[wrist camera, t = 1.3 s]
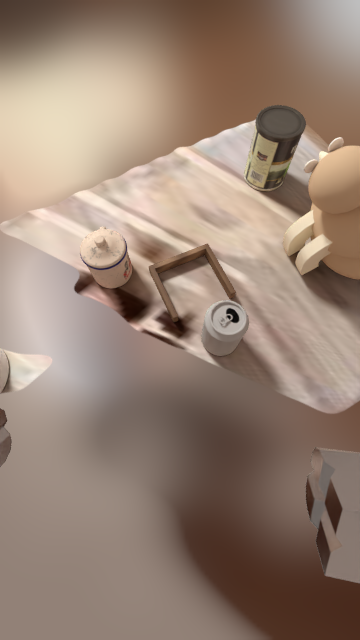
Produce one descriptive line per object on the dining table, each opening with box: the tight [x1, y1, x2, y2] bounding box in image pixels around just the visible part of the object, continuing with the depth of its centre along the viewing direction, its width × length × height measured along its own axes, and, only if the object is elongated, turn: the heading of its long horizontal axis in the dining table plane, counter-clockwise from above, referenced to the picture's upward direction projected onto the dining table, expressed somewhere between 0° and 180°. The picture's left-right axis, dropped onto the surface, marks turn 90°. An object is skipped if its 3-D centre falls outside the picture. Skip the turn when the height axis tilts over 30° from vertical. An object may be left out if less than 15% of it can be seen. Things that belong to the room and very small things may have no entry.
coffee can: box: [244, 105, 306, 191], centre depth 68 cm, size 10×10×14 cm
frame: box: [149, 244, 236, 322], centre depth 62 cm, size 14×13×2 cm
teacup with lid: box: [80, 227, 132, 288], centre depth 60 cm, size 12×9×12 cm
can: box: [201, 300, 249, 356], centre depth 53 cm, size 8×8×12 cm
